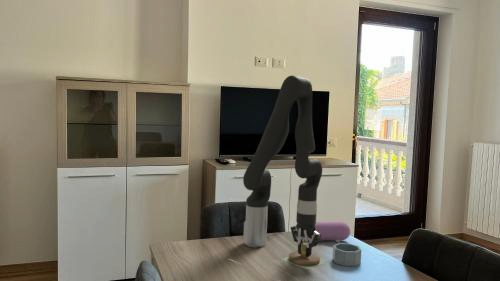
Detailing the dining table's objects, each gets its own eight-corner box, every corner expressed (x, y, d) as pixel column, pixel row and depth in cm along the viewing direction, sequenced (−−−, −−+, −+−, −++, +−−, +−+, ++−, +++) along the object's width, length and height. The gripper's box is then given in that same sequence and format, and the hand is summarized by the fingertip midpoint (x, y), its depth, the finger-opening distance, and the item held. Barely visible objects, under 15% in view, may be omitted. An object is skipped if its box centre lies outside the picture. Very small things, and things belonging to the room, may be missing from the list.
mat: (280, 260, 158) (280, 259, 158) (301, 253, 167) (302, 252, 167) (307, 270, 149) (307, 269, 148) (328, 262, 158) (328, 261, 157)
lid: (282, 258, 158) (282, 243, 157) (301, 251, 166) (302, 237, 166) (306, 267, 149) (307, 251, 149) (326, 260, 158) (327, 245, 157)
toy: (306, 244, 181) (352, 243, 181) (306, 225, 181) (351, 224, 180) (304, 238, 189) (348, 238, 189) (304, 220, 189) (348, 219, 188)
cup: (328, 261, 158) (328, 246, 158) (342, 256, 165) (343, 241, 165) (350, 269, 151) (351, 254, 151) (364, 263, 158) (365, 248, 158)
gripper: (286, 208, 159) (284, 252, 160) (315, 216, 149) (312, 262, 150) (298, 206, 164) (296, 248, 165) (327, 213, 154) (325, 258, 155)
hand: (304, 254), depth 158 cm, fingers closed on lid, 3 cm apart
